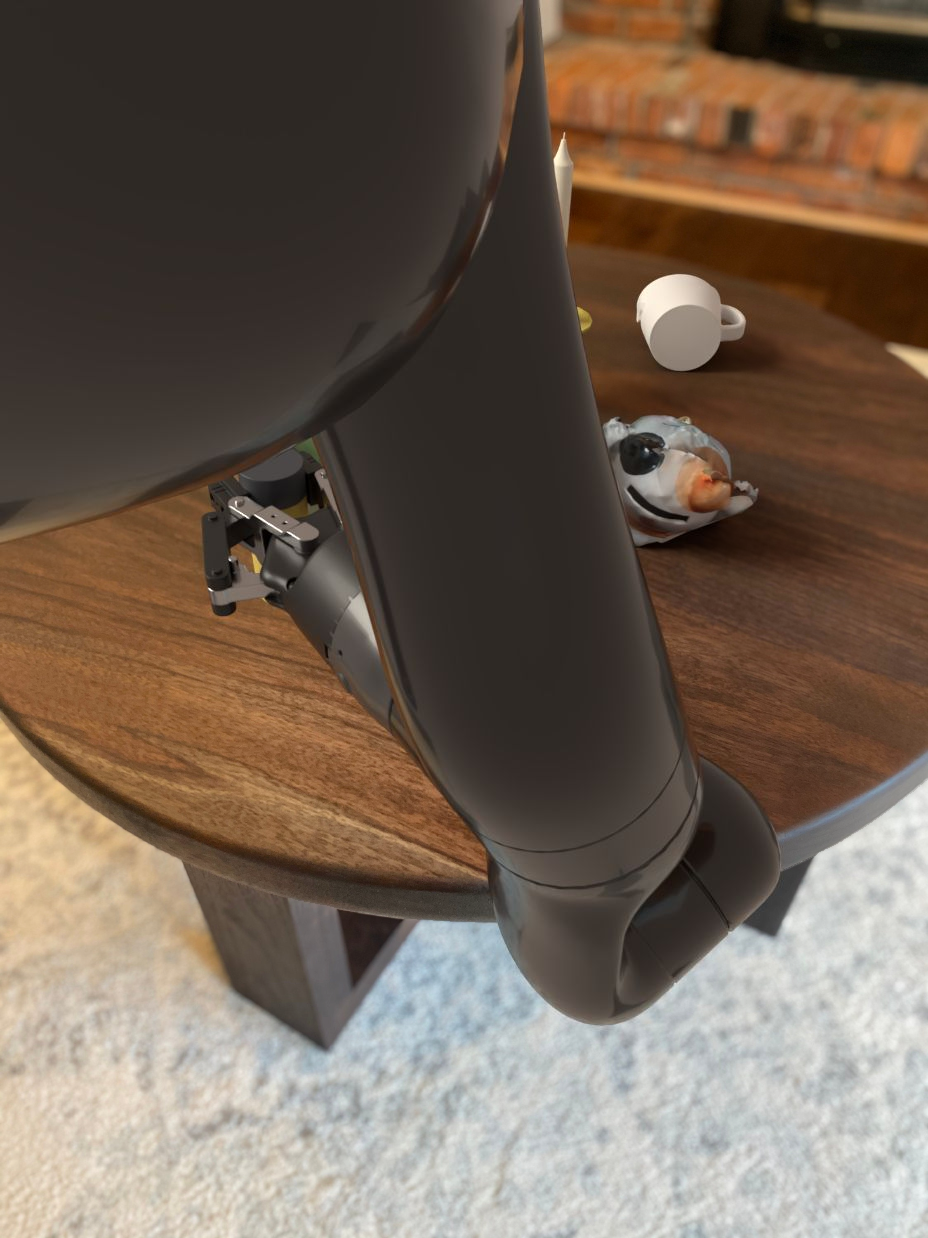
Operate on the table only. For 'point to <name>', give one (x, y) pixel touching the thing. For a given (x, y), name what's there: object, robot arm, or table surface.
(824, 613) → the table surface
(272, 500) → the glue stick
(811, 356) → the table surface
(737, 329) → the mug
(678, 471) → the white snowman head
